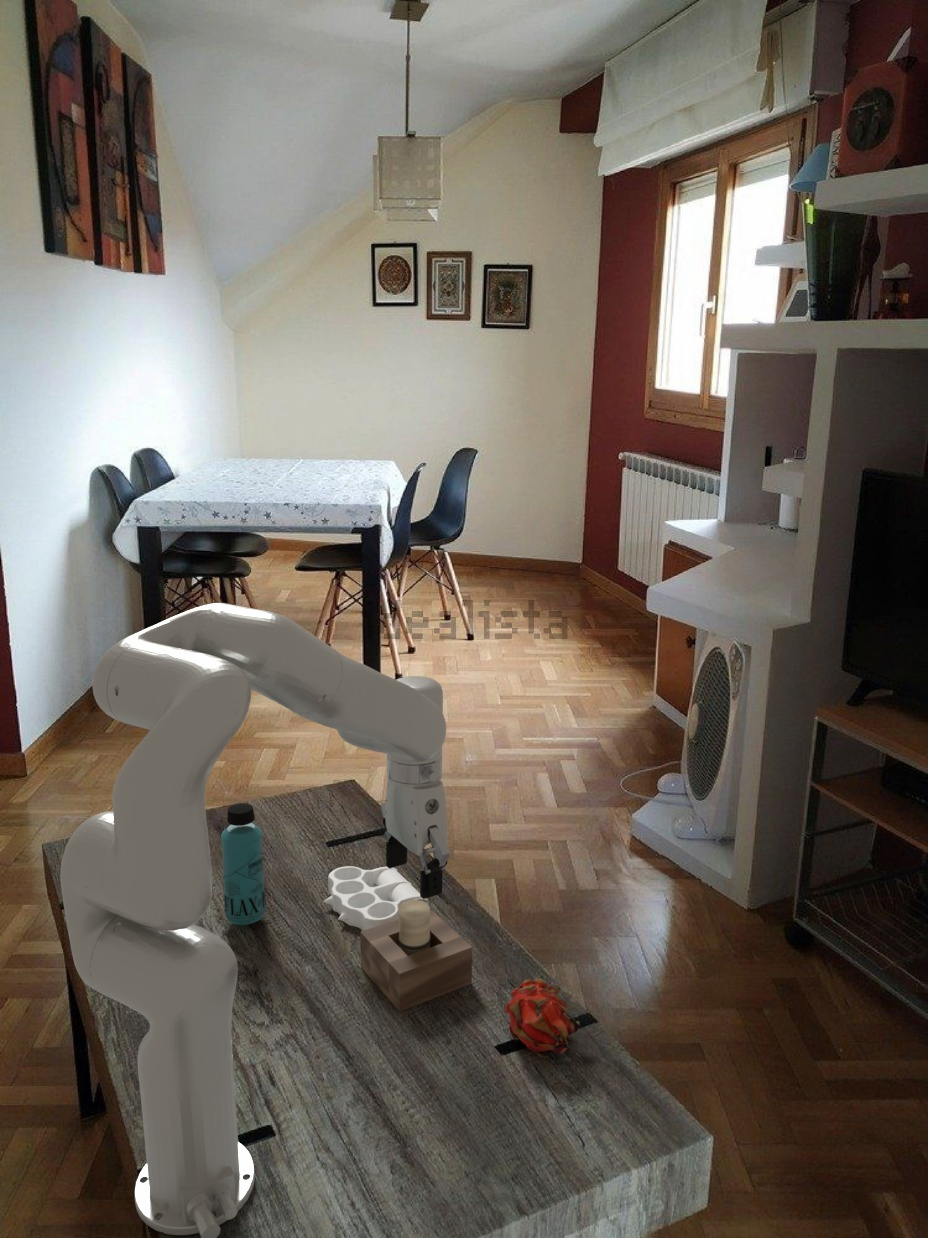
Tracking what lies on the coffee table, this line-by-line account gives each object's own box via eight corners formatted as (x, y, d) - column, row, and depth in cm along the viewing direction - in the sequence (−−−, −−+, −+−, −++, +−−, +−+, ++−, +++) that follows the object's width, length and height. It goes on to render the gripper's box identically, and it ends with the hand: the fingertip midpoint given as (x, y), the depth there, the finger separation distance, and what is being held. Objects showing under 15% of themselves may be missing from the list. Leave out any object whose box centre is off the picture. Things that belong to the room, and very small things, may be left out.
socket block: (471, 983, 143) (472, 947, 141) (399, 1011, 137) (399, 974, 135) (429, 943, 152) (429, 908, 151) (361, 967, 146) (360, 931, 145)
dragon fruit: (519, 1019, 138) (563, 1086, 128) (478, 1005, 133) (520, 1073, 123) (556, 971, 137) (603, 1034, 127) (516, 955, 132) (561, 1020, 122)
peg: (436, 972, 144) (436, 911, 141) (408, 982, 141) (408, 921, 138) (420, 955, 147) (420, 896, 145) (393, 965, 145) (392, 905, 142)
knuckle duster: (437, 921, 159) (353, 948, 151) (386, 871, 173) (308, 894, 166) (437, 903, 158) (353, 929, 150) (386, 854, 173) (307, 876, 165)
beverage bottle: (217, 931, 155) (210, 814, 149) (236, 908, 161) (230, 795, 156) (256, 937, 153) (249, 819, 148) (274, 914, 160) (268, 800, 154)
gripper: (471, 784, 130) (469, 900, 135) (407, 741, 145) (406, 848, 149) (422, 796, 127) (421, 916, 131) (361, 751, 141) (361, 861, 145)
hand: (413, 880), depth 140 cm, fingers open, 9 cm apart
